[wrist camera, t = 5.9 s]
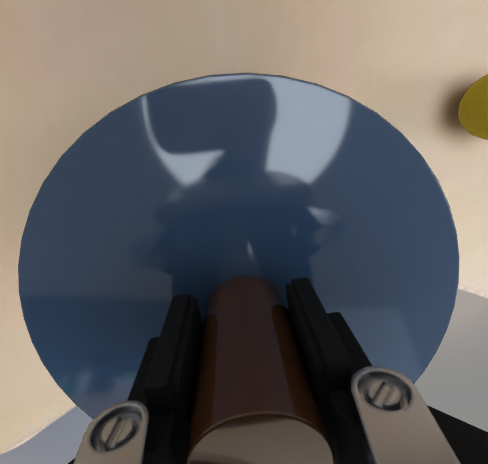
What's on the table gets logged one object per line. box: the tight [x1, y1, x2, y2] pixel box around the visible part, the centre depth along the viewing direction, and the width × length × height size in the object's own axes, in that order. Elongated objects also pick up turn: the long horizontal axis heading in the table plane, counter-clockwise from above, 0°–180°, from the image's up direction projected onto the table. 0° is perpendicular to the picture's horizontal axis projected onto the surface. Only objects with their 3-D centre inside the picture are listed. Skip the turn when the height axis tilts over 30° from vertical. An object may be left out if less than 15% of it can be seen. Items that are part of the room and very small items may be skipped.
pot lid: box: [18, 73, 459, 464], centre depth 9 cm, size 16×16×7 cm
